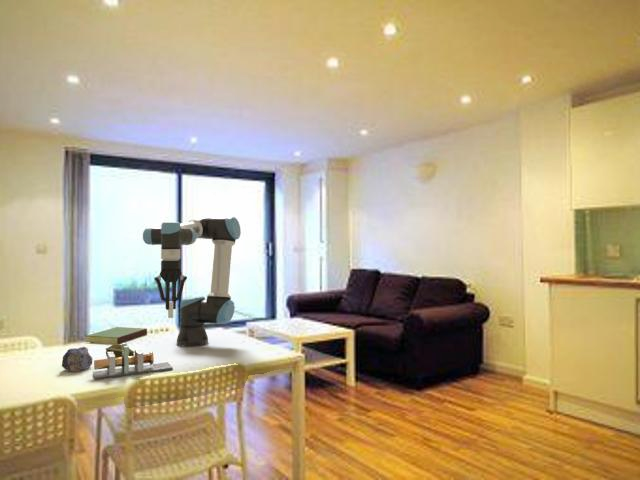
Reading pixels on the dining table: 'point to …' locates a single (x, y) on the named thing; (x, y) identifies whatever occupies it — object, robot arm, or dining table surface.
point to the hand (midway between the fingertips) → (170, 317)
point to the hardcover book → (116, 335)
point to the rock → (77, 360)
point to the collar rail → (127, 370)
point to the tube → (120, 361)
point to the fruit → (118, 351)
